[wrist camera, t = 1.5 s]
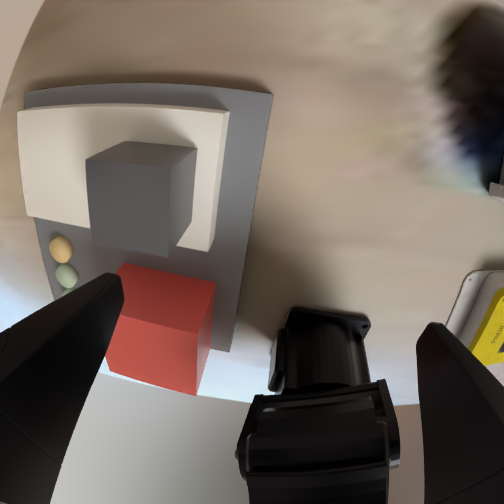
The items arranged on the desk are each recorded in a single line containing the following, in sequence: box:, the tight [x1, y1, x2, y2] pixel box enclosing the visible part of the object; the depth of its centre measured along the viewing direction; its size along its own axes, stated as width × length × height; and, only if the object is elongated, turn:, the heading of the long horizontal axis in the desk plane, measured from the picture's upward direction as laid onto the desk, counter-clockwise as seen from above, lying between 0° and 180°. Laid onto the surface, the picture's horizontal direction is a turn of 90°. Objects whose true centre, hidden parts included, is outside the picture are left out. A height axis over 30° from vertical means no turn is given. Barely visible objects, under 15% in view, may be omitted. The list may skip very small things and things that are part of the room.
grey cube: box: [85, 141, 198, 258], centre depth 13 cm, size 4×4×4 cm
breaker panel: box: [17, 83, 273, 352], centre depth 19 cm, size 17×19×3 cm
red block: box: [105, 263, 216, 396], centre depth 20 cm, size 7×7×5 cm
